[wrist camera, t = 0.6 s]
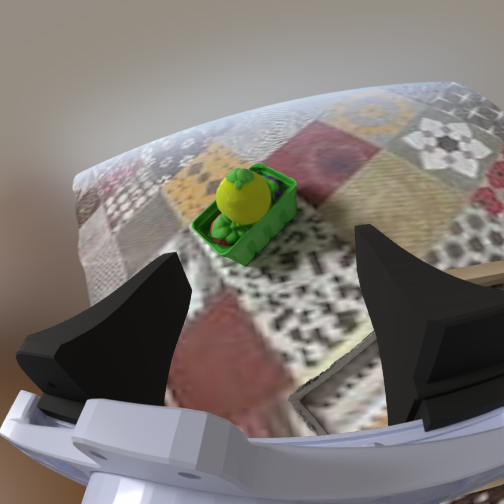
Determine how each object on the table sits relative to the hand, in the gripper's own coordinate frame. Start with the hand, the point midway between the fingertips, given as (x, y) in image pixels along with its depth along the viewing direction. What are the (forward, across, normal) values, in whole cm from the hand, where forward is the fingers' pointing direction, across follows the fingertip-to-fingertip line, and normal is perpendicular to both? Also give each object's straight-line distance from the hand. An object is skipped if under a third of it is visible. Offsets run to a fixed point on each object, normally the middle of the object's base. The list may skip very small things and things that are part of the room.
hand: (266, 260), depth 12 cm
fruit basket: (+23, +4, +11) cm, 25 cm away
